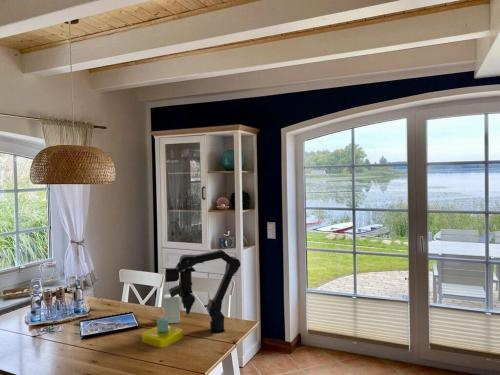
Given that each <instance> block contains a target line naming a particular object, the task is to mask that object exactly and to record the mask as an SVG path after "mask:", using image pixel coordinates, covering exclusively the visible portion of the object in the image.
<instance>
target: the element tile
mask: <svg viewBox="0 0 500 375" xmlns="http://www.w3.org/2000/svg"><path fill="white" fill-rule="evenodd" d="M183 336H184V334H183V329H182V328H180V327H176V326H173V325H169V331H165V332H158V329H157V326H154V327H152V328H150V329H148V330H145V331H143V332H142V333H141V342H143V343H146V344H147V345H151V346H154V347H156V348H157V347H158V348H165V347H168V346H170V345H172V344H173V343H176V342H177V341H180V340H182V339H183Z"/></svg>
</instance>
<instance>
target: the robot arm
mask: <svg viewBox="0 0 500 375" xmlns="http://www.w3.org/2000/svg"><path fill="white" fill-rule="evenodd" d="M219 259H221V260H222V261H224V262H225V267H224V268H225V270H224V273H223V277H222V278H221V282H220V283H219V286H218V289H216V290H217V291H216V293H215V294H214V297H213V298H212V299H211V298H209V300H208V303H207V305H206V312H207V313H208V315H209V317H211V318H210V321H209V330H210V331H211V332H212V334H216V333H225V332H226V330H225V315H224V313H223V312H222V306H223V305H222V304H223V300H224V297H225V295H226V293H227V291H228V289H229V286H230V283H231V281H232V279H233V276H235V274H236V273H237V272H238V271H239V269H240V267H241V265H242V263H241V261H240V260H239V258H236V257H235V256H231V255H229V254H228V253H226V251H224V250H223V249H217V250H214V251H209V252H202V253H199V254H182V255H180V258H179V260H178V262H177V264H176V266H175V267H165V270H164V281H165V283H174V282H178V281H179V283H178V285H175V286H172V287H171V288H169V289H168V292H169V294H170V295H171V297H174V296H176V295H179V298H181V300H180V301H181V303H182V307H183V309H184V310H185V313H186V315H189V314H190V312H191V310H192V308H193V305H194V303H195V302H196V296H195V295H194V294H193V290H192V289H193V288H192V286H193V282H192V278H193V276H192V274H193V273H192V272H196V269H195V268H194V266H196V265H197V264H201V263H205V262H210V261H215V260H219Z"/></svg>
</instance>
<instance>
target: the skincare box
mask: <svg viewBox="0 0 500 375" xmlns="http://www.w3.org/2000/svg"><path fill="white" fill-rule="evenodd" d="M163 304H164V318H168V325H169V324H176V323H178V324H179V323H181V318H180V317H181V316H180V314H181V313H180V296H179V295H176V296H174V297H171V295H170V293H169V294H164V295H163Z"/></svg>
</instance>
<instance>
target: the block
mask: <svg viewBox="0 0 500 375" xmlns="http://www.w3.org/2000/svg"><path fill="white" fill-rule="evenodd" d="M156 322H157V323H156V324H157V325H156V327H157V329H158V332H165V331H169V326H170V325H169V324H168V318H165V317H159V318H157V320H156Z"/></svg>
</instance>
